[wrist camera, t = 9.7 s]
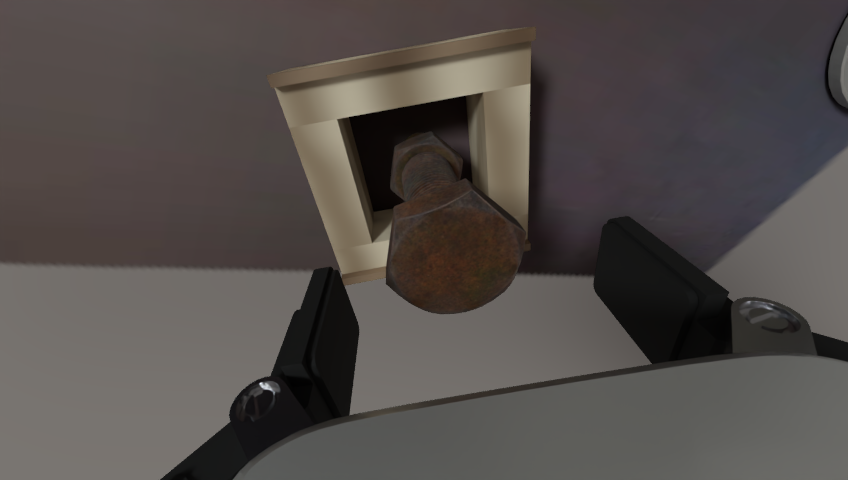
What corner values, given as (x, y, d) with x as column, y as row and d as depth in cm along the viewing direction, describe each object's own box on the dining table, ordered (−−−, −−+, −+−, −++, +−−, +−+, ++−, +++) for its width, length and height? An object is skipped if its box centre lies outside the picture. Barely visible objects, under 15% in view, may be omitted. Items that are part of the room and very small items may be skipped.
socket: (501, 30, 22) (535, 26, 17) (506, 216, 29) (530, 250, 24) (292, 67, 21) (266, 75, 17) (350, 245, 29) (343, 285, 24)
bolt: (467, 149, 25) (554, 256, 13) (426, 197, 27) (466, 334, 14) (409, 99, 23) (443, 168, 10) (368, 155, 25) (354, 273, 12)
